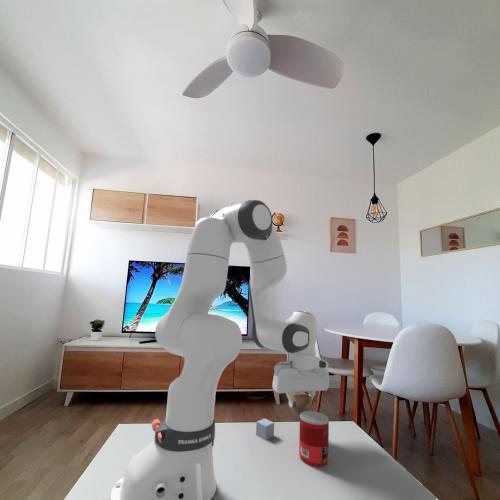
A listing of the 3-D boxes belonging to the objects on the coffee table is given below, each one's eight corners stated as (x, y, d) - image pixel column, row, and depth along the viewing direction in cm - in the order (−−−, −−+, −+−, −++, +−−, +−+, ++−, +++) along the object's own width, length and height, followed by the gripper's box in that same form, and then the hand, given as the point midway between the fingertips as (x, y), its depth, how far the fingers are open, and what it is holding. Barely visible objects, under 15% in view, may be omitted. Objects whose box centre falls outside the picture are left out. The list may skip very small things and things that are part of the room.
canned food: (329, 469, 74) (329, 424, 76) (298, 464, 76) (299, 419, 77) (327, 453, 81) (327, 412, 83) (299, 449, 83) (300, 409, 85)
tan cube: (298, 415, 88) (298, 397, 89) (289, 409, 93) (290, 392, 94) (311, 413, 90) (311, 396, 91) (302, 407, 95) (302, 392, 96)
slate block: (265, 440, 87) (265, 426, 88) (256, 435, 90) (256, 421, 91) (273, 436, 90) (274, 422, 91) (264, 431, 93) (264, 418, 93)
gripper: (280, 363, 87) (277, 412, 85) (332, 362, 95) (331, 406, 93) (270, 359, 93) (267, 404, 90) (320, 358, 101) (319, 400, 99)
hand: (300, 405), depth 92 cm, fingers closed on tan cube, 5 cm apart
